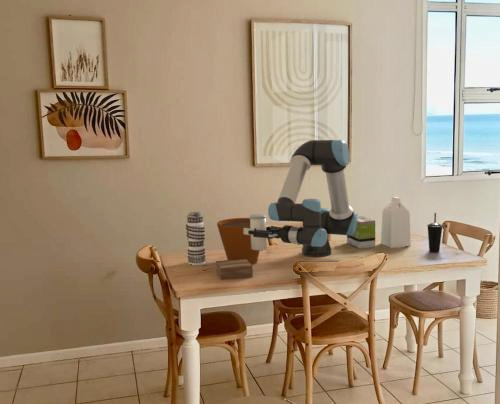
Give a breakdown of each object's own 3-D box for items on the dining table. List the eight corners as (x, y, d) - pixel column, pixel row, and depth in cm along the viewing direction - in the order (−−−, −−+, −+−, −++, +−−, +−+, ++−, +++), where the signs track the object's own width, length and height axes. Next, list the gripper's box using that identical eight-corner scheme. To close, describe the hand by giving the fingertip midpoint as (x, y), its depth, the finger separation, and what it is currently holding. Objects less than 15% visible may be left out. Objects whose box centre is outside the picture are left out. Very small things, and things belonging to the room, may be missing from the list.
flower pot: (276, 261, 275) (276, 221, 272) (241, 271, 258) (240, 228, 256) (243, 254, 292) (242, 216, 289) (208, 262, 275) (207, 222, 272)
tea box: (346, 243, 311) (346, 217, 309) (362, 241, 314) (362, 215, 312) (359, 248, 297) (359, 221, 295) (376, 247, 300) (376, 219, 298)
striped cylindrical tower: (185, 261, 278) (183, 212, 275) (203, 259, 281) (201, 210, 278) (190, 266, 270) (187, 214, 266) (208, 264, 273) (206, 213, 269)
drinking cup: (445, 252, 284) (446, 213, 281) (433, 254, 281) (434, 214, 278) (435, 249, 291) (436, 211, 288) (423, 250, 288) (424, 212, 285)
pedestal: (216, 271, 258) (216, 261, 258) (246, 269, 261) (246, 258, 261) (221, 279, 245) (221, 268, 244) (252, 277, 248) (252, 266, 247)
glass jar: (249, 247, 253) (248, 214, 251) (264, 246, 254) (263, 213, 252) (252, 250, 246) (251, 217, 244) (268, 249, 247) (267, 216, 245)
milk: (410, 246, 300) (411, 198, 296) (391, 247, 297) (391, 199, 293) (399, 241, 311) (400, 195, 308) (380, 243, 309) (381, 196, 305)
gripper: (279, 247, 231) (235, 241, 244) (304, 239, 246) (262, 234, 260) (279, 229, 230) (235, 224, 243) (304, 222, 245) (262, 218, 259)
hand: (249, 229), depth 252 cm, fingers closed on glass jar, 7 cm apart
